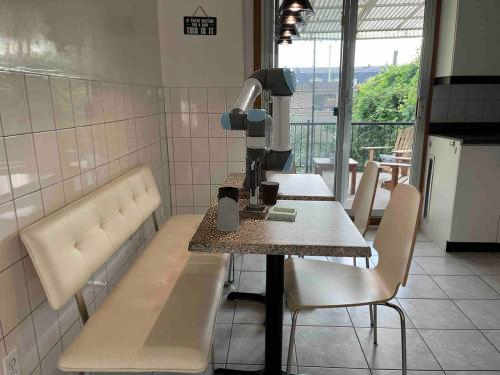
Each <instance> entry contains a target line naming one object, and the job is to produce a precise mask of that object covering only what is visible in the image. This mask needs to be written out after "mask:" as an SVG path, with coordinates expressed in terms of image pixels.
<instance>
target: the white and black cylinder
mask: <svg viewBox="0 0 500 375" xmlns="http://www.w3.org/2000/svg"><path fill="white" fill-rule="evenodd" d="M239 191H240V188H239V187H235V186H221V187H218V190H217V192H218V195H217V196H218V199H217V225H216V230H218V231H220V232H236V231H238V230H240V220H239V219H240V218H239V210H240V197H239V195H240V194H239V193H240V192H239Z"/></svg>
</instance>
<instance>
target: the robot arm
mask: <svg viewBox="0 0 500 375" xmlns="http://www.w3.org/2000/svg"><path fill="white" fill-rule="evenodd" d="M242 88H243V89H242V91H241V92H240V94H239V96H238V98H237V100H236V102H235V103H234V105H233V106H232V108H231V110H230V112H228V111H227V112H223V113H222V115H221V117H220V124H221V125H220V126H221V128H222V129H223V130H224V131H225V130H227V131H238V132H239V131H240V132H241V131H243V132H246V139H245V141H246V146H247V148H246V152H245V175H244V178H243V180H242V185H241V190H244V191H247V192H250V196H249V205H250V204H257V190H258V197H259V198H260V196H259V195H260V194H259V193H260V192H262V185H261V182H264V181H269V180H268V178H267V172H270V173H271V172H273V173H290V172H292V170H293V167H294V162H295V157H296V152H295V151H293V148H292V146H291V145H290V118H291V117H290V109H291V106H290V105H291V98H292V97H293V96H294V93H296V91H297V76H296V72H295V70H294V69H293V68H288V67H276V68H275V67H274V68H272V67H271V68H270V67H263V68H260V69H257V70H256V71H254V72H252V73H250V74H249V75H248V76H247V78H246V79H245V80H244V83H243V86H242ZM264 92H265V93H269V96H270V97H271V99H272V116H271V115H269V113H267V111H266V109H262V108H261V109H259V108H252V107H253V105H254V103H255V101H256V98H257V97H258V96H260V94H261V93H264ZM270 129H272V145H271V146H270V147H269V149H268V146H266V132H268V131H269V130H270ZM259 198H258V202H259Z"/></svg>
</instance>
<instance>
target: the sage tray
mask: <svg viewBox="0 0 500 375" xmlns="http://www.w3.org/2000/svg"><path fill="white" fill-rule="evenodd" d="M297 215H298V208H297V207H282V206H272V207H271V209H270V210H269V212H268V220H280V221H290V222H291V221H292V222H295V221H296V220H297V219H296V218H297Z"/></svg>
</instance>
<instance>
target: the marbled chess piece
mask: <svg viewBox="0 0 500 375" xmlns="http://www.w3.org/2000/svg"><path fill="white" fill-rule="evenodd" d="M258 198H260V196H259V197H258V190H257V204H250V203H249V204H247V205H248V206H247V207H248V209H249V211H259V210H260V207H261V206H262V205H261V204H259V201H258Z"/></svg>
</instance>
